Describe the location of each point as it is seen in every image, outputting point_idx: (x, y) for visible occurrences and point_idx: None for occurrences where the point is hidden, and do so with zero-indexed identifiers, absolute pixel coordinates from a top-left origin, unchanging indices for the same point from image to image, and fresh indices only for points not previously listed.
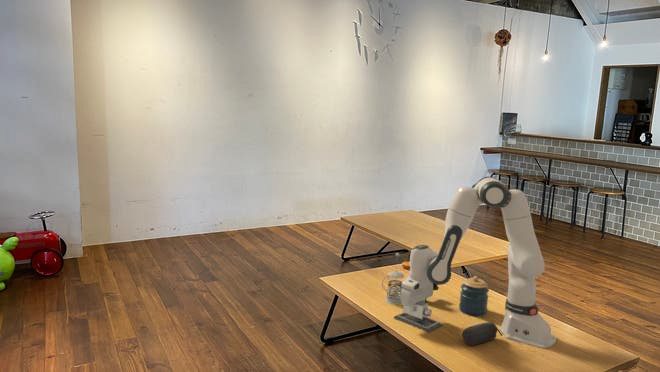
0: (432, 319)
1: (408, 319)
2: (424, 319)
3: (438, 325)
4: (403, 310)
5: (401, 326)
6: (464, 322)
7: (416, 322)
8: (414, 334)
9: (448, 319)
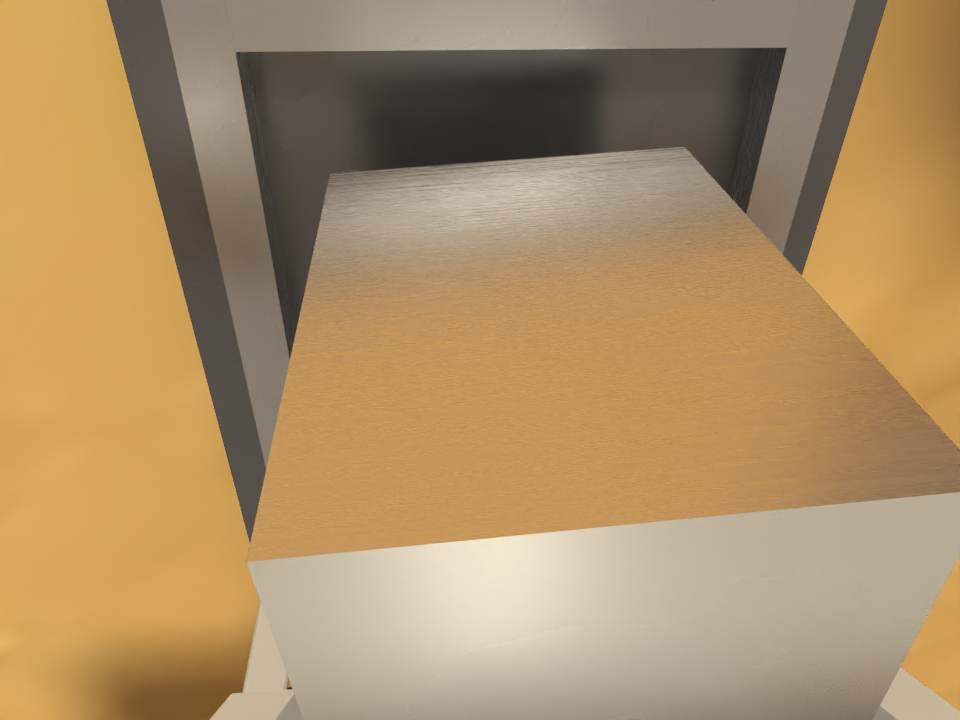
0: None
1: (271, 378)
2: None
3: None
4: (328, 208)
5: (20, 329)
6: (955, 692)
7: None
8: (61, 606)
9: (950, 578)
